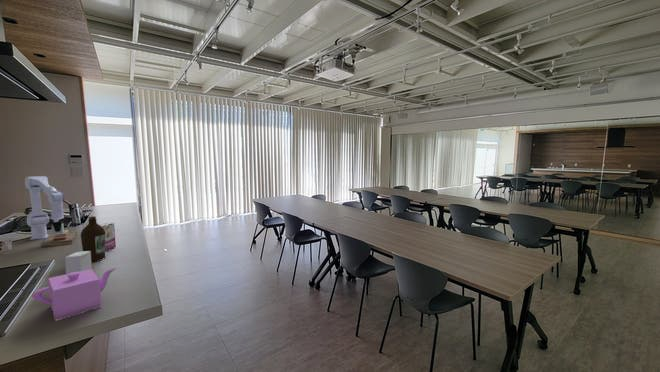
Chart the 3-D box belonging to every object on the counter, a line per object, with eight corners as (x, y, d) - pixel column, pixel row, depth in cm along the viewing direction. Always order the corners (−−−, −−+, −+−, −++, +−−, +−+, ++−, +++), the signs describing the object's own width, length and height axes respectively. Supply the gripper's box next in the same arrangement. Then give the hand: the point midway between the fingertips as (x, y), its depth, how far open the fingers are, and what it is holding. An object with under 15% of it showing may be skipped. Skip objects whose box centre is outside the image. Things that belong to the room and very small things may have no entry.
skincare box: (81, 288, 123) (79, 256, 121) (66, 289, 122) (63, 257, 120) (93, 280, 131) (91, 250, 130) (78, 280, 130) (76, 250, 128)
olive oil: (77, 262, 151) (74, 218, 149) (92, 255, 162) (90, 214, 159) (96, 263, 151) (94, 219, 149) (111, 256, 162) (109, 215, 160)
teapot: (123, 300, 114) (121, 268, 112) (35, 328, 94) (32, 289, 93) (113, 288, 123) (112, 259, 122) (32, 311, 104) (29, 276, 103)
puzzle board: (50, 237, 193) (49, 231, 193) (76, 235, 202) (76, 229, 201) (42, 247, 174) (42, 240, 174) (72, 243, 183) (71, 237, 182)
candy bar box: (108, 247, 178) (107, 222, 176) (116, 247, 178) (114, 222, 176) (93, 252, 167) (91, 226, 165) (101, 253, 167) (99, 227, 165)
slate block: (53, 232, 183) (52, 224, 182) (63, 231, 186) (63, 223, 185) (52, 234, 179) (51, 225, 178) (62, 233, 182) (62, 224, 181)
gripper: (50, 209, 184) (52, 229, 185) (46, 213, 173) (47, 233, 174) (65, 208, 189) (66, 227, 190) (61, 212, 177) (63, 232, 178)
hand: (58, 230), depth 182 cm, fingers closed on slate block, 5 cm apart
